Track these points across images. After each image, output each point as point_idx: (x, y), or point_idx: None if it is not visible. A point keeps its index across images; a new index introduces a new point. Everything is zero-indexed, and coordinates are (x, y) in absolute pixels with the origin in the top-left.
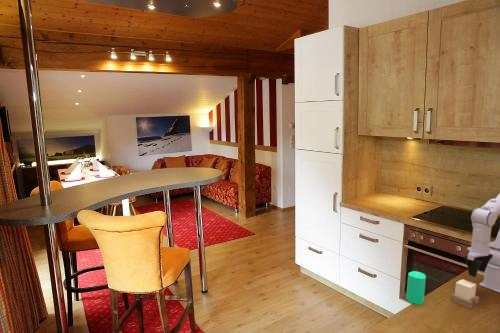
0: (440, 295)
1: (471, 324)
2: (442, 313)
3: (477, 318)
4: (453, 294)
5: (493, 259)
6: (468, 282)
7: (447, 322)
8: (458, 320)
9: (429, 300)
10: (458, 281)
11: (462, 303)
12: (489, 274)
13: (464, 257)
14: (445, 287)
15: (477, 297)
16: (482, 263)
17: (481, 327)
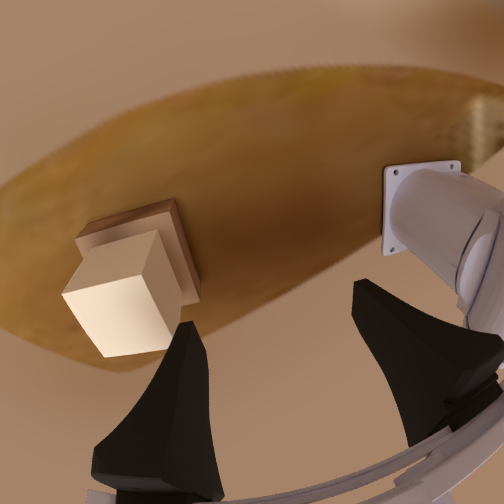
0: (77, 170)
1: (68, 347)
2: (14, 282)
3: None
4: (86, 245)
5: (501, 296)
6: (143, 320)
7: (12, 316)
8: (42, 323)
9: (11, 198)
10: (85, 290)
11: None
12: (432, 236)
13: (93, 468)
14: (180, 102)
15: (187, 301)
16: (388, 350)
17: (87, 362)
